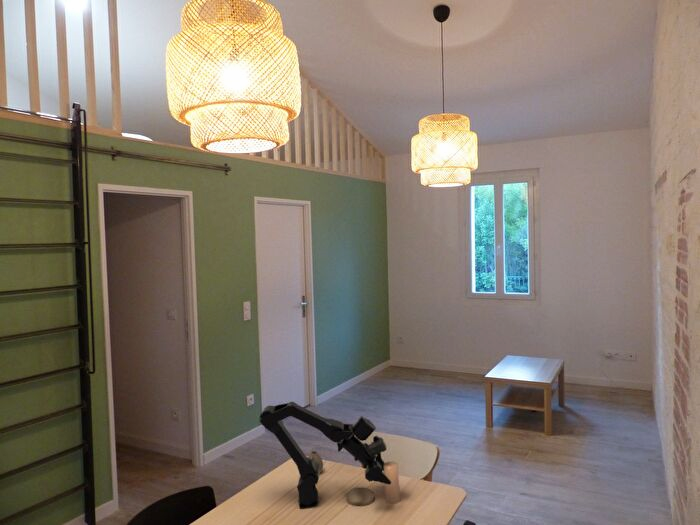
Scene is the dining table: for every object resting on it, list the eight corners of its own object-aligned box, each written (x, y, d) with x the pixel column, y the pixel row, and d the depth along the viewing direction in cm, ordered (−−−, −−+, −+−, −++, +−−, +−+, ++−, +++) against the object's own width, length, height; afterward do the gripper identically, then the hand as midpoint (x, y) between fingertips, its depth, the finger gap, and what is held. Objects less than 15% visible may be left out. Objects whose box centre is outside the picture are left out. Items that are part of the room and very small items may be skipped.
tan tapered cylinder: (387, 504, 185) (385, 468, 185) (383, 497, 190) (381, 462, 190) (401, 502, 186) (399, 466, 186) (397, 495, 192) (395, 460, 191)
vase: (316, 478, 209) (314, 456, 209) (303, 474, 213) (301, 453, 213) (327, 471, 215) (325, 450, 214) (314, 467, 219) (313, 447, 218)
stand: (349, 508, 184) (349, 502, 184) (344, 495, 194) (344, 489, 194) (377, 503, 186) (376, 498, 186) (370, 490, 196) (370, 485, 196)
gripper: (372, 442, 178) (406, 472, 178) (371, 423, 197) (402, 450, 197) (351, 466, 179) (385, 496, 179) (352, 445, 197) (383, 472, 198)
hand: (389, 477), depth 188 cm, fingers open, 9 cm apart
